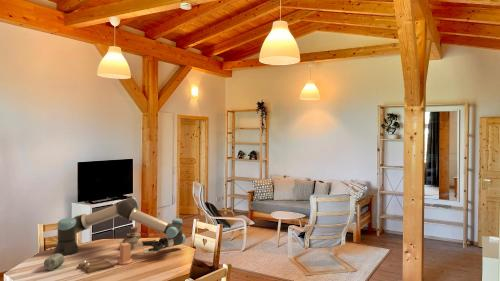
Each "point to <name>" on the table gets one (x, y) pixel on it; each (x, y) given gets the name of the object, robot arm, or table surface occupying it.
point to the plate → (97, 265)
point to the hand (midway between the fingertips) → (138, 248)
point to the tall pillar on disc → (125, 254)
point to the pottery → (132, 237)
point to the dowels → (85, 264)
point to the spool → (53, 261)
